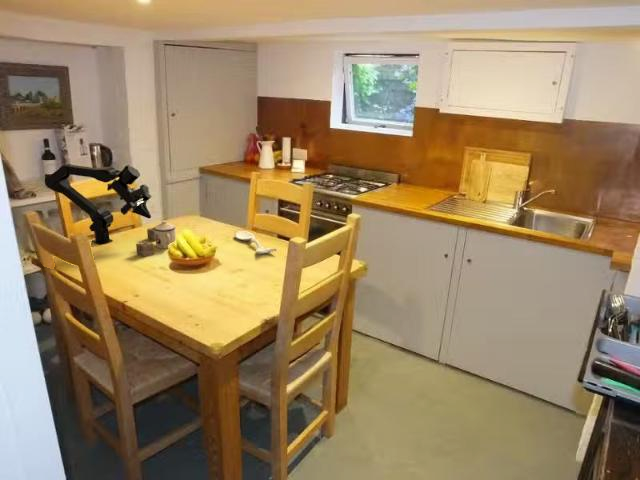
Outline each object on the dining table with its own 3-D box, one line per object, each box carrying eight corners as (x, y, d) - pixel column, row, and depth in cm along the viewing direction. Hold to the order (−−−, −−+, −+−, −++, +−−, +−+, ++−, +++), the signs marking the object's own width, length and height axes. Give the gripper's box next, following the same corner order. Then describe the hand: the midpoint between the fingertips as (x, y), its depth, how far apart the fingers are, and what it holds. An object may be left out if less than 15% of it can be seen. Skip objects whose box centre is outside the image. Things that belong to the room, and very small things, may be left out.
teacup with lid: (153, 243, 212) (151, 219, 208) (173, 241, 216) (172, 217, 212) (159, 252, 202) (157, 227, 198) (180, 249, 206) (178, 224, 203)
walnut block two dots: (137, 255, 198) (136, 243, 197) (146, 251, 202) (145, 240, 201) (144, 257, 196) (143, 246, 194) (154, 254, 200) (153, 243, 198)
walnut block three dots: (147, 239, 217) (146, 228, 216) (156, 236, 221) (155, 226, 220) (154, 241, 215) (154, 231, 213) (163, 238, 219) (162, 228, 217)
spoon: (258, 259, 201) (258, 251, 200) (231, 236, 226) (231, 230, 225) (277, 255, 205) (277, 248, 204) (248, 234, 231) (248, 227, 230)
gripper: (125, 184, 191) (152, 212, 194) (146, 175, 209) (170, 201, 212) (108, 201, 195) (135, 228, 197) (130, 190, 212) (155, 216, 215)
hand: (150, 217), depth 205 cm, fingers closed
